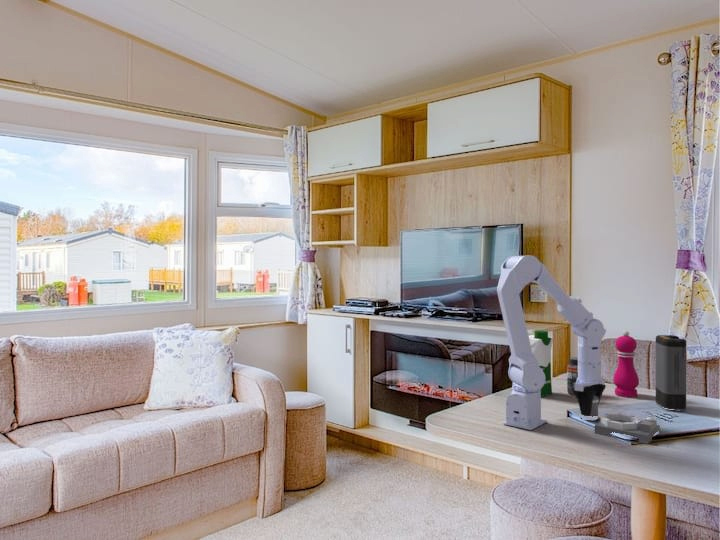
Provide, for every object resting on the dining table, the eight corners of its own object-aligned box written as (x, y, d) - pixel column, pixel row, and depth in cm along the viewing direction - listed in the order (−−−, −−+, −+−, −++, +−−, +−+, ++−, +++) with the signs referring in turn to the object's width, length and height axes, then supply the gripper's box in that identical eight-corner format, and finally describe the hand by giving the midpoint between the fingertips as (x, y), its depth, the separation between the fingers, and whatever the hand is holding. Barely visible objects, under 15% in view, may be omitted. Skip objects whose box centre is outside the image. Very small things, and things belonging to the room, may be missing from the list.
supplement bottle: (584, 391, 177) (584, 356, 177) (590, 396, 171) (589, 359, 171) (564, 391, 178) (564, 356, 177) (570, 396, 172) (569, 359, 172)
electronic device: (688, 412, 153) (688, 340, 152) (664, 411, 154) (664, 339, 154) (676, 403, 162) (676, 335, 161) (654, 402, 163) (654, 334, 163)
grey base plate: (647, 444, 128) (647, 425, 128) (594, 433, 136) (594, 415, 136) (660, 433, 135) (660, 415, 135) (609, 423, 144) (609, 407, 144)
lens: (594, 422, 145) (594, 399, 145) (577, 419, 148) (577, 396, 148) (601, 418, 148) (601, 396, 148) (584, 415, 151) (584, 393, 151)
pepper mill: (608, 393, 174) (607, 330, 173) (624, 391, 177) (624, 328, 176) (627, 399, 167) (627, 333, 167) (644, 396, 170) (644, 331, 170)
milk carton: (539, 398, 169) (539, 333, 169) (515, 392, 177) (514, 330, 176) (556, 393, 175) (556, 330, 174) (532, 388, 182) (531, 328, 181)
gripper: (594, 368, 140) (594, 422, 140) (614, 360, 150) (614, 409, 151) (566, 365, 145) (566, 416, 145) (588, 357, 155) (588, 405, 155)
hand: (589, 412), depth 148 cm, fingers closed on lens, 4 cm apart
